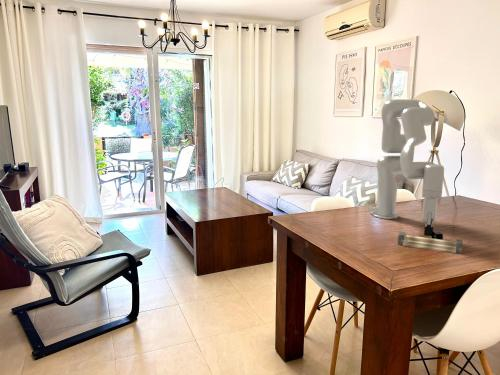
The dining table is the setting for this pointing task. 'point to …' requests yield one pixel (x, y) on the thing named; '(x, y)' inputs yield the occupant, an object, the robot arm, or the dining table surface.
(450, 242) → the striped bar with caps
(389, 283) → the dining table surface
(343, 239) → the dining table surface
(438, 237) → the black block
